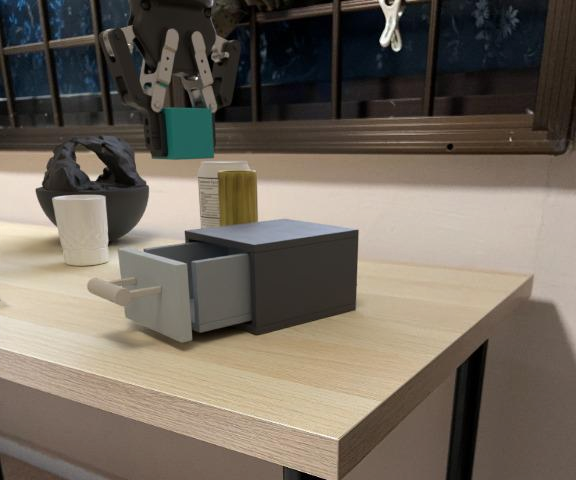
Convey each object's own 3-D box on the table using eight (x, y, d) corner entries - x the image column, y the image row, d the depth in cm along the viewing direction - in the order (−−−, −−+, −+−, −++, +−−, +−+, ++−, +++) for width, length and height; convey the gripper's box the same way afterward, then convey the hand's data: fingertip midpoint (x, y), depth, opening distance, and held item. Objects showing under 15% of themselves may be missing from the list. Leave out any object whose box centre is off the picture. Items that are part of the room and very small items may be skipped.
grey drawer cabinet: (256, 335, 62) (254, 244, 58) (189, 310, 71) (184, 230, 67) (356, 309, 71) (359, 229, 67) (285, 290, 79) (284, 218, 76)
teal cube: (175, 159, 56) (171, 107, 55) (151, 158, 59) (146, 109, 58) (214, 158, 59) (211, 108, 57) (189, 157, 62) (186, 110, 60)
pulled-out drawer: (135, 354, 54) (126, 272, 51) (81, 326, 62) (71, 254, 59) (290, 316, 65) (290, 247, 62) (228, 296, 73) (225, 234, 70)
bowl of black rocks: (154, 248, 108) (143, 134, 101) (35, 253, 105) (16, 135, 97) (153, 232, 126) (144, 134, 119) (52, 236, 123) (37, 135, 116)
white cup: (111, 256, 102) (104, 194, 98) (114, 265, 95) (106, 198, 91) (62, 259, 100) (52, 195, 96) (60, 268, 93) (50, 200, 89)
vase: (270, 275, 87) (269, 170, 82) (238, 283, 83) (234, 173, 78) (242, 269, 91) (239, 169, 86) (210, 276, 87) (204, 171, 82)
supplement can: (198, 258, 100) (192, 161, 94) (247, 255, 102) (244, 160, 96) (207, 268, 93) (202, 163, 87) (260, 264, 95) (257, 162, 89)
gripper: (211, -34, 59) (220, 153, 66) (69, -61, 51) (95, 157, 57) (258, -51, 54) (263, 154, 61) (109, -84, 46) (134, 159, 52)
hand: (182, 155), depth 59 cm, fingers closed on teal cube, 4 cm apart
